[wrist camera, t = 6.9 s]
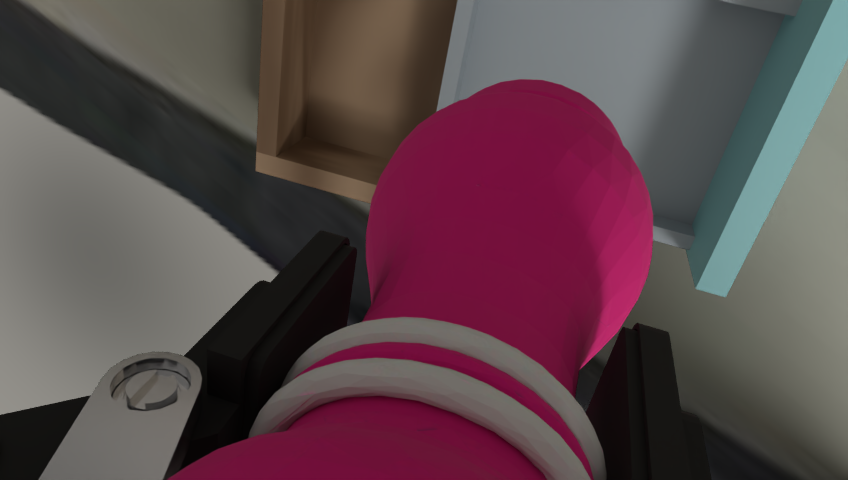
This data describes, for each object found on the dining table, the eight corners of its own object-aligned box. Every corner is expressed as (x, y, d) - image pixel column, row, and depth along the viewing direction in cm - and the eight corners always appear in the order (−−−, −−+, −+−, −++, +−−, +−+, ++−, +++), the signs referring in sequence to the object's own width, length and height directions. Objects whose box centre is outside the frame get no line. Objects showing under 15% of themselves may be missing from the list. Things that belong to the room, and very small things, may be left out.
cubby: (673, -80, 29) (684, -81, 25) (572, 221, 37) (568, 259, 33) (315, -150, 32) (270, -163, 27) (293, 144, 40) (255, 170, 35)
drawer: (824, -9, 28) (874, 5, 22) (707, 241, 34) (725, 297, 29) (482, -79, 30) (456, -81, 25) (433, 167, 36) (404, 207, 31)
